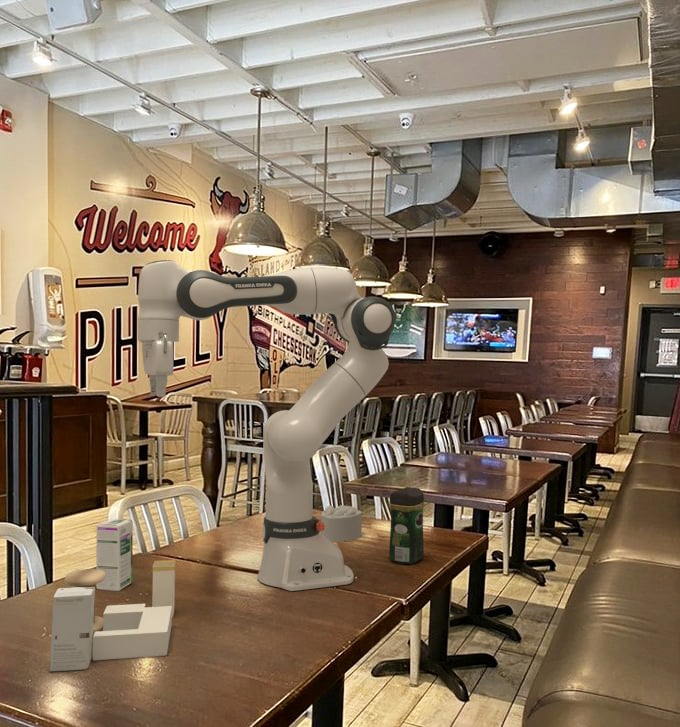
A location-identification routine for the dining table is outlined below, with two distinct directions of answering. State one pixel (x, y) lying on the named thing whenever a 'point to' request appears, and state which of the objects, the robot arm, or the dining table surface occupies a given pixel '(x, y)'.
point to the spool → (87, 580)
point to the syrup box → (115, 553)
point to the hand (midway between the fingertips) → (157, 395)
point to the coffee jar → (406, 525)
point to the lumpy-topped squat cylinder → (341, 523)
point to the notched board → (133, 632)
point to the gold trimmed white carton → (164, 584)
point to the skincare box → (72, 628)
